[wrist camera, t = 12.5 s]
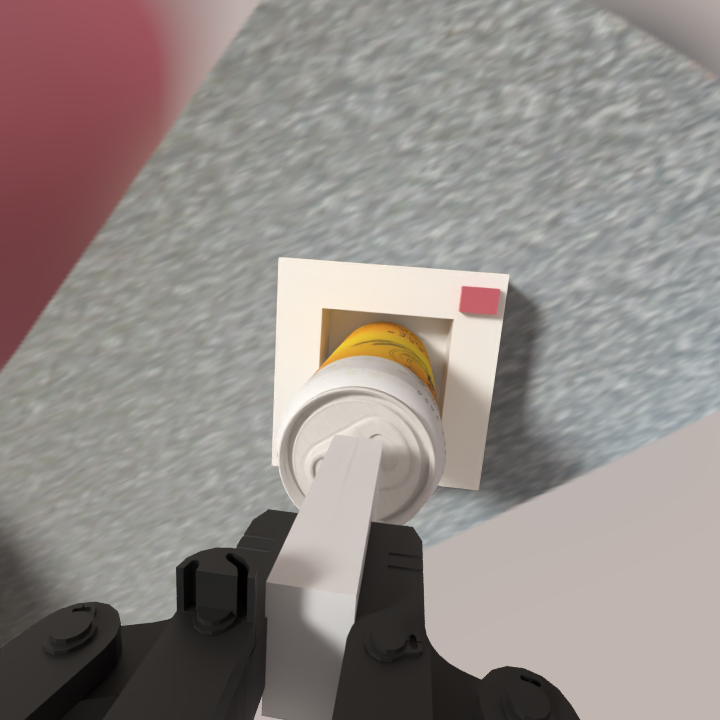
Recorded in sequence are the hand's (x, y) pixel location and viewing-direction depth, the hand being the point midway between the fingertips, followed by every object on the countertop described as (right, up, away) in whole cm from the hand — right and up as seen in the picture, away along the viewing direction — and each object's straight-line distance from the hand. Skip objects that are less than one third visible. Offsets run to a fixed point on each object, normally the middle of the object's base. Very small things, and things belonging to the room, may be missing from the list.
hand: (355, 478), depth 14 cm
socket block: (+2, +3, +16) cm, 17 cm away
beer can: (+2, +3, +16) cm, 16 cm away
